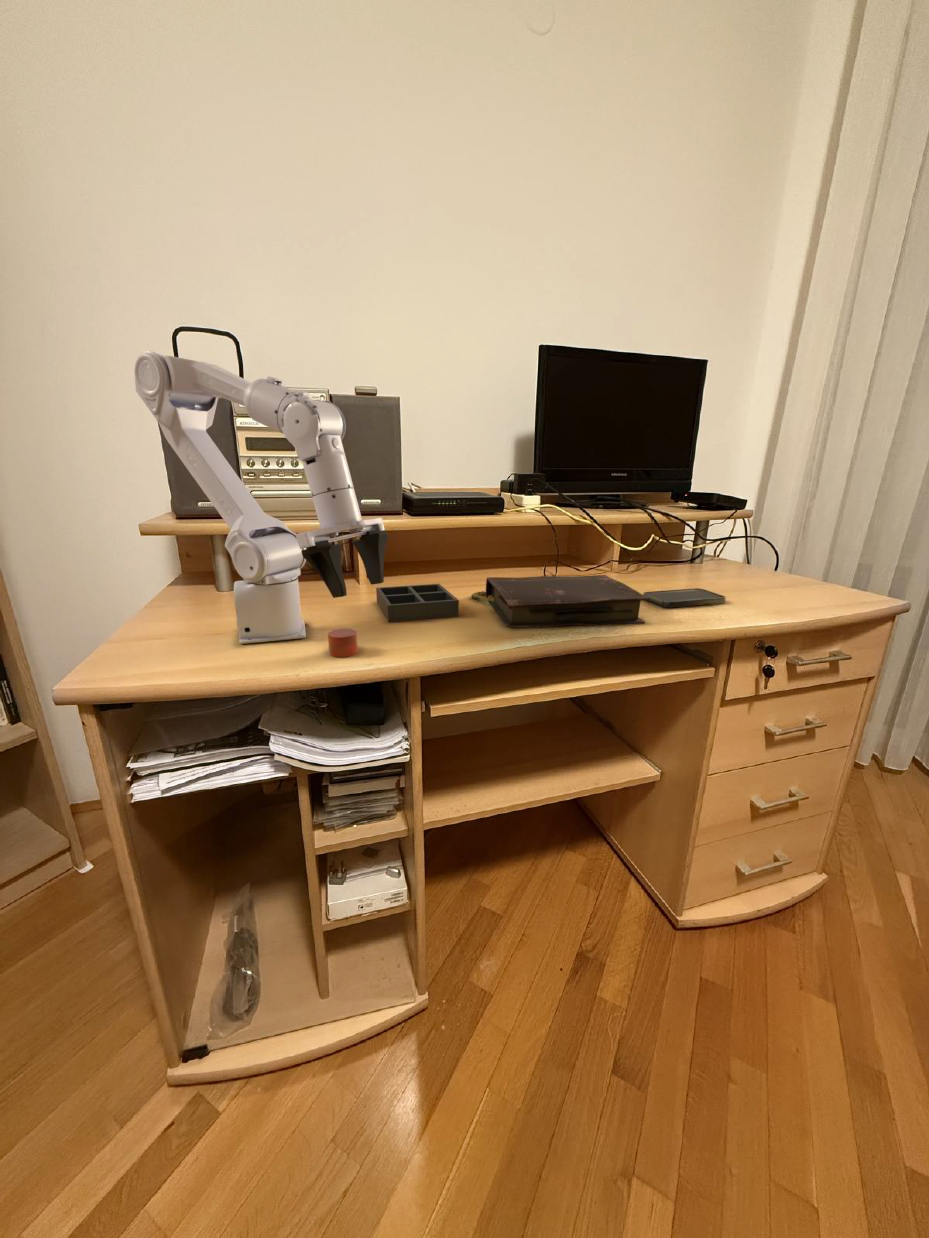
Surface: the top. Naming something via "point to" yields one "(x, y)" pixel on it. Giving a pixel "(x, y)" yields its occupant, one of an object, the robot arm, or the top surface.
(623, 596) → the diary
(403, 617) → the tray
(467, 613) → the top surface
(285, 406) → the robot arm
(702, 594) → the phone
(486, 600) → the seal
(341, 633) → the red short cylinder
